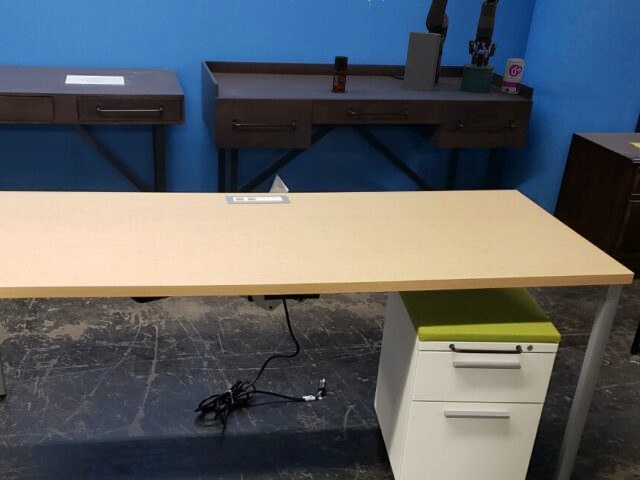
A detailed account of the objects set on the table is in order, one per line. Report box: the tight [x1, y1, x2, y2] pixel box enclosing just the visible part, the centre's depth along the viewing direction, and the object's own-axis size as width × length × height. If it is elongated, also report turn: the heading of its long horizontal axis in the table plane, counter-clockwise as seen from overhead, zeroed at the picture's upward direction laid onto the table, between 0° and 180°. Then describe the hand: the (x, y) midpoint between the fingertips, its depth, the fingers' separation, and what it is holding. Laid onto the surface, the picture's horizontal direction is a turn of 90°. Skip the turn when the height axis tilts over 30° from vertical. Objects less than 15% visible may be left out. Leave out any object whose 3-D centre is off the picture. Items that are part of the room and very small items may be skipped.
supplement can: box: [500, 57, 525, 95], centre depth 371 cm, size 8×8×15 cm
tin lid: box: [463, 53, 496, 70], centre depth 368 cm, size 15×15×7 cm
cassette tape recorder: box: [402, 30, 441, 92], centre depth 368 cm, size 14×6×25 cm, turn 62°
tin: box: [460, 66, 495, 94], centre depth 372 cm, size 14×14×11 cm
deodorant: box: [331, 55, 349, 94], centre depth 359 cm, size 6×6×15 cm
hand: (479, 65), depth 369 cm, fingers open, 5 cm apart
